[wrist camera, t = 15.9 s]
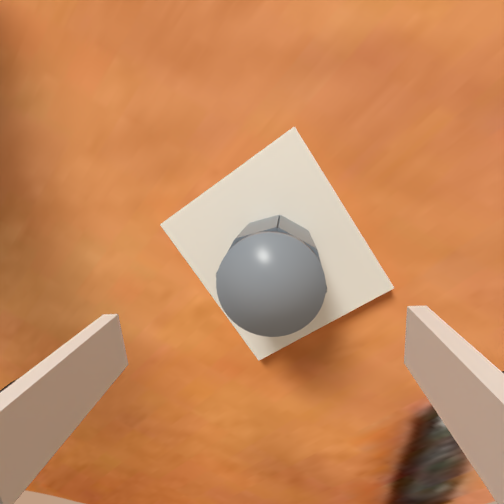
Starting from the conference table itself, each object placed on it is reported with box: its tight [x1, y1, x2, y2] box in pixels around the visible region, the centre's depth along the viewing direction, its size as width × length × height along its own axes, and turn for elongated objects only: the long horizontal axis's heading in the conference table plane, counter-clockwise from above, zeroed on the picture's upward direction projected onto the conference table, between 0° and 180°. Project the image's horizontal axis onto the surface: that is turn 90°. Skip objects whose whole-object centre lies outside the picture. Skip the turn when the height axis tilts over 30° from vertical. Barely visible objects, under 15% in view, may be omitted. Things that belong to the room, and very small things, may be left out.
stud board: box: [160, 126, 394, 360], centre depth 26 cm, size 18×16×8 cm
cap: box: [216, 215, 327, 337], centre depth 24 cm, size 8×8×9 cm
